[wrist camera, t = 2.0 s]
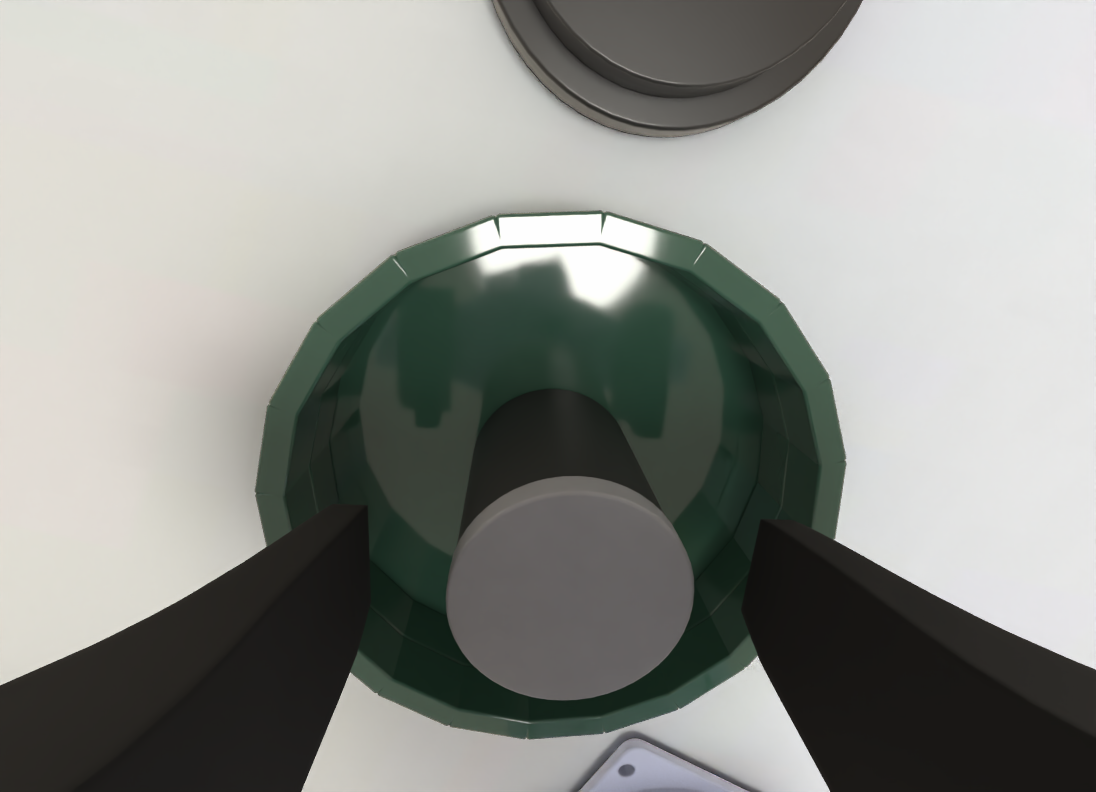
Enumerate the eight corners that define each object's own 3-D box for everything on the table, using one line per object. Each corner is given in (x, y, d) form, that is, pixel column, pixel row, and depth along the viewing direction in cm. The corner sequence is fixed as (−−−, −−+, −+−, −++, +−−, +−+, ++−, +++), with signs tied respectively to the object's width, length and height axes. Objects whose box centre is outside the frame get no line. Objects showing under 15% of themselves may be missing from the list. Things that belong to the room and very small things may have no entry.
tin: (601, 701, 17) (619, 804, 14) (232, 519, 15) (157, 598, 12) (869, 391, 15) (963, 438, 11) (475, 97, 12) (461, 55, 9)
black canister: (570, 556, 15) (599, 735, 10) (440, 483, 14) (397, 638, 9) (661, 440, 14) (746, 569, 9) (528, 355, 13) (537, 443, 8)
